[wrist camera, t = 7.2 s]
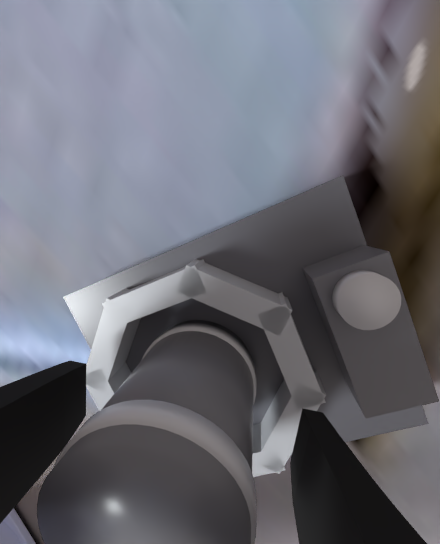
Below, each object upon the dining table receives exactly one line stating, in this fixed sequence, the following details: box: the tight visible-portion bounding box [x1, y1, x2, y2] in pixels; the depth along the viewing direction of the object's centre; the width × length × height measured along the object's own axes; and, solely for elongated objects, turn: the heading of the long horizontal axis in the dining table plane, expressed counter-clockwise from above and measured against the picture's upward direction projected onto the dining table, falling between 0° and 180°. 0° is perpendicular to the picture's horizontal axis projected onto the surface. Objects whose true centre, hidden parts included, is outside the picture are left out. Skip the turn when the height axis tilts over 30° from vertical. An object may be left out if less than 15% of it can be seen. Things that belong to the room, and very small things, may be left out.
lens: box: [37, 320, 256, 544], centre depth 8 cm, size 5×5×6 cm
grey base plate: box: [64, 176, 439, 477], centre depth 10 cm, size 10×12×4 cm
